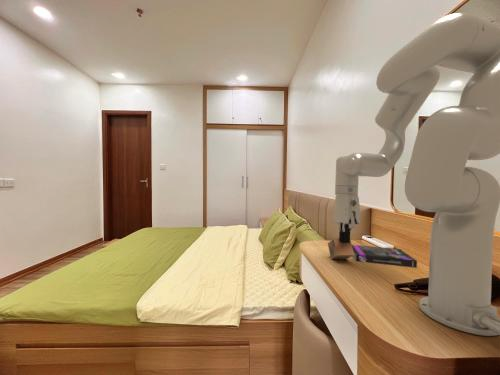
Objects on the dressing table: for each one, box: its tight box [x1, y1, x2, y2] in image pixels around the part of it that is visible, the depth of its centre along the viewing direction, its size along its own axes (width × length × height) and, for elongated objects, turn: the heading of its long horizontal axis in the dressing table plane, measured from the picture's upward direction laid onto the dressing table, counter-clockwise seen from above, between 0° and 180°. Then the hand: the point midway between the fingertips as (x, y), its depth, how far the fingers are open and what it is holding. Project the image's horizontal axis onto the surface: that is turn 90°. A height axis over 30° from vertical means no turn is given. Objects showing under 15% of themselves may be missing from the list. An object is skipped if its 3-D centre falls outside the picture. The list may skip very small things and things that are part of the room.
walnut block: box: [327, 237, 354, 260], centre depth 82 cm, size 6×6×6 cm
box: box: [352, 244, 418, 268], centre depth 86 cm, size 14×4×20 cm
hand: (344, 242), depth 80 cm, fingers closed
